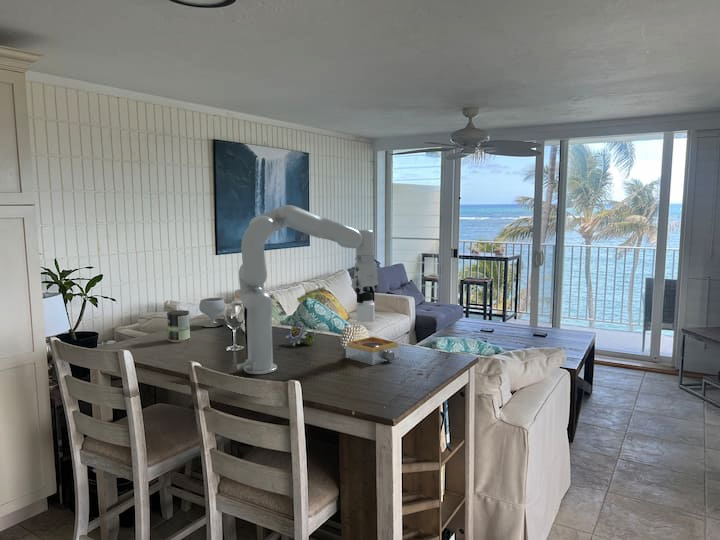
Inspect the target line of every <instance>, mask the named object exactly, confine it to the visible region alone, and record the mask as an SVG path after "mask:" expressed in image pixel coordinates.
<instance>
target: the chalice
mask: <svg viewBox="0 0 720 540" xmlns="http://www.w3.org/2000/svg"><path fill="white" fill-rule="evenodd" d="M198 308H199V311H200V313H201V314H203V315H206V316H208V317H209V318H210V322H209V323H210V324H212V323H217V322H216V321H215V319H216V318H217V316H218V315H220V314H222V313H223V312H224V311H225V310H226V303H225V300H224V298H222V297H208V298H202V299H201V300H200V302H199V307H198Z"/></svg>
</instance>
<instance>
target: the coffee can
mask: <svg viewBox="0 0 720 540" xmlns="http://www.w3.org/2000/svg"><path fill="white" fill-rule="evenodd" d="M166 317H167V336H168V337H167V338H168V339H170V340H185V339H188V338H190V339H191V334H190V333H191V331H190V330H191V329H190V328H191V327H190V311H189V310H183V309H181V310H180V309H179V310H173V311H172V310H171V311H168V312H167V313H166Z"/></svg>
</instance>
